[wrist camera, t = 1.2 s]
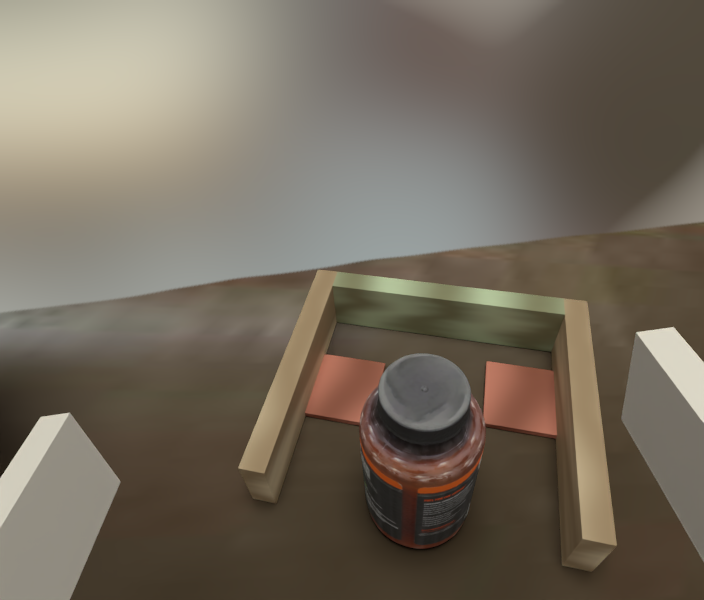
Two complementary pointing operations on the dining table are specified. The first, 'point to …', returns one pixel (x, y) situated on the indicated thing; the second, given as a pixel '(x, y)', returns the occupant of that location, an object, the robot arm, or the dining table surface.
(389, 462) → the supplement bottle
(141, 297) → the dining table surface
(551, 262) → the dining table surface
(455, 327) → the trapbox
